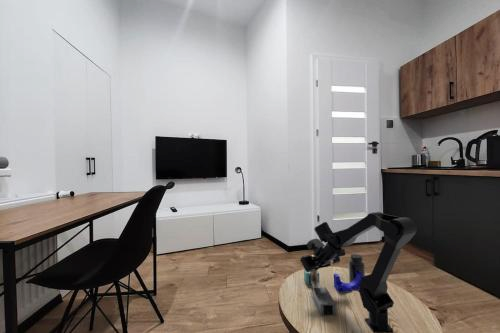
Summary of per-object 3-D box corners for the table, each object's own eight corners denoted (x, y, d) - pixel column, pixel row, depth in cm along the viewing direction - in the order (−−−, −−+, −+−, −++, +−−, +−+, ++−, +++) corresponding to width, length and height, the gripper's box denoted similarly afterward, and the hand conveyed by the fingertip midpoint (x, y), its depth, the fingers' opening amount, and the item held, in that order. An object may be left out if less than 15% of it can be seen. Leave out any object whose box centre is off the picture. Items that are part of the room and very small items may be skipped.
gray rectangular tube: (335, 315, 88) (335, 303, 88) (320, 315, 88) (320, 304, 88) (326, 297, 100) (325, 287, 100) (313, 298, 100) (312, 287, 100)
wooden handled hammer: (325, 300, 97) (324, 266, 97) (317, 300, 97) (316, 266, 97) (314, 279, 115) (313, 251, 115) (308, 279, 115) (307, 251, 115)
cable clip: (338, 292, 105) (337, 278, 105) (334, 287, 109) (333, 273, 109) (365, 290, 105) (364, 276, 105) (360, 285, 110) (359, 272, 110)
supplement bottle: (346, 279, 116) (345, 254, 116) (357, 277, 118) (356, 252, 118) (357, 286, 109) (356, 259, 109) (368, 283, 112) (367, 257, 112)
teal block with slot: (319, 283, 112) (319, 273, 112) (306, 284, 112) (306, 273, 112) (316, 279, 117) (316, 268, 117) (304, 279, 117) (303, 268, 117)
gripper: (334, 231, 111) (317, 249, 120) (302, 238, 102) (287, 256, 112) (349, 254, 104) (330, 270, 113) (316, 263, 95) (298, 280, 105)
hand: (311, 268), depth 111 cm, fingers closed on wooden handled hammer, 3 cm apart
